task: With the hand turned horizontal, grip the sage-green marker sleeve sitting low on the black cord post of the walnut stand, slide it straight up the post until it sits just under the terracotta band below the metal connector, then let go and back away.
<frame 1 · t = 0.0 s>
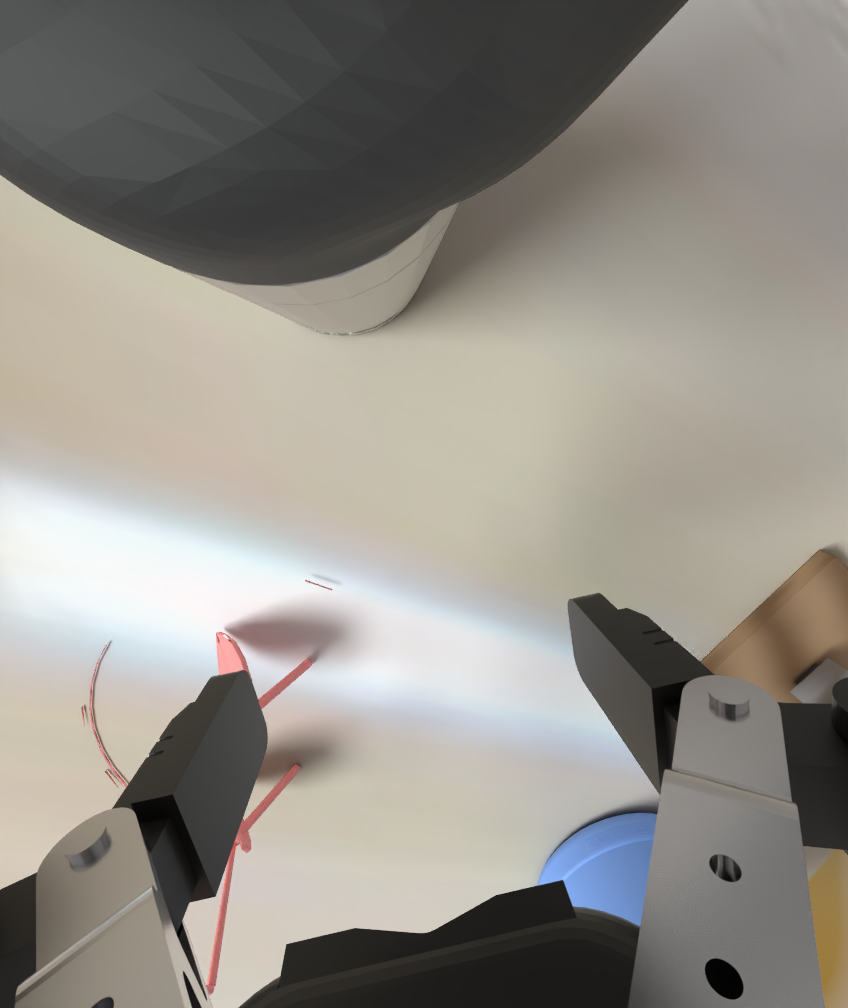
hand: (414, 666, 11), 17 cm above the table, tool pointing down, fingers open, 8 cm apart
cord stand: (798, 668, 35), on the table
figurine: (204, 706, 31), on the table
water jug: (619, 870, 40), on the table
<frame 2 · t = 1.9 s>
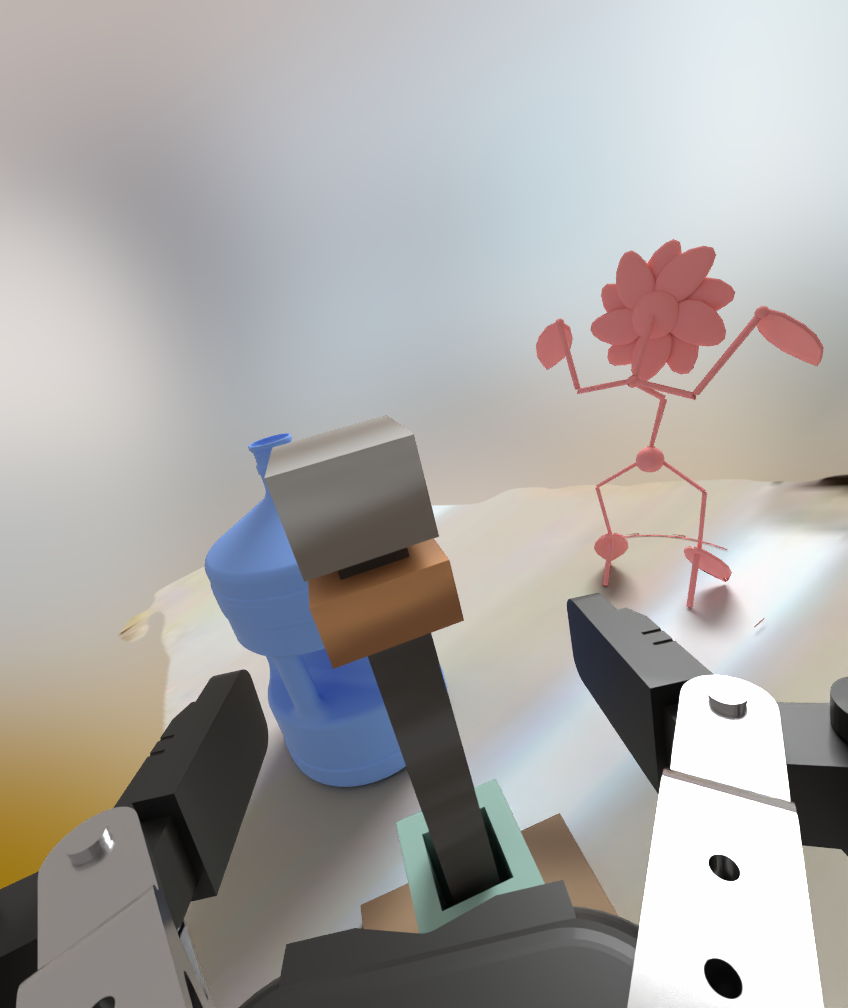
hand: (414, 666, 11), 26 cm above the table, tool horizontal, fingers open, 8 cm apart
sleeve: (482, 909, 20), point 9 cm above the table, slide at 0.0 cm
figurine: (667, 568, 55), on the table
water jug: (371, 716, 44), on the table
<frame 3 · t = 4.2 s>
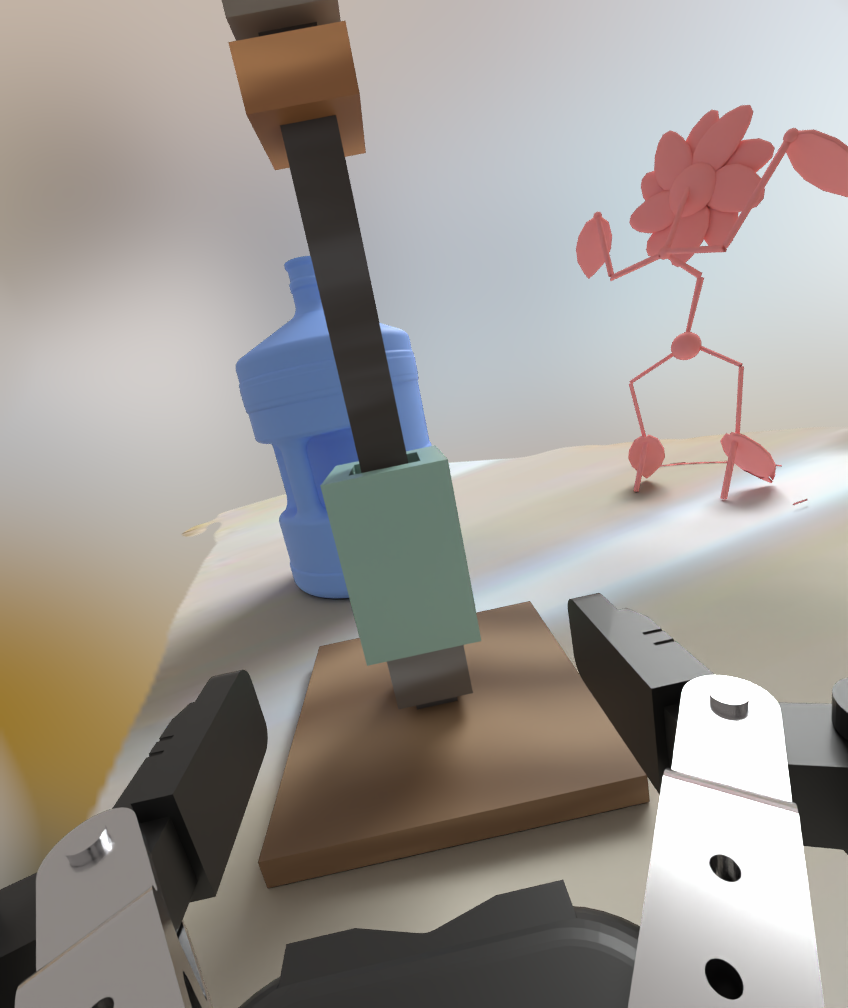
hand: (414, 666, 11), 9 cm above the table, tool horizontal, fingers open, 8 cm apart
cord stand: (439, 712, 23), on the table
sleeve: (403, 547, 21), point 9 cm above the table, slide at 0.0 cm
figurine: (709, 480, 51), on the table
water jug: (375, 566, 45), on the table
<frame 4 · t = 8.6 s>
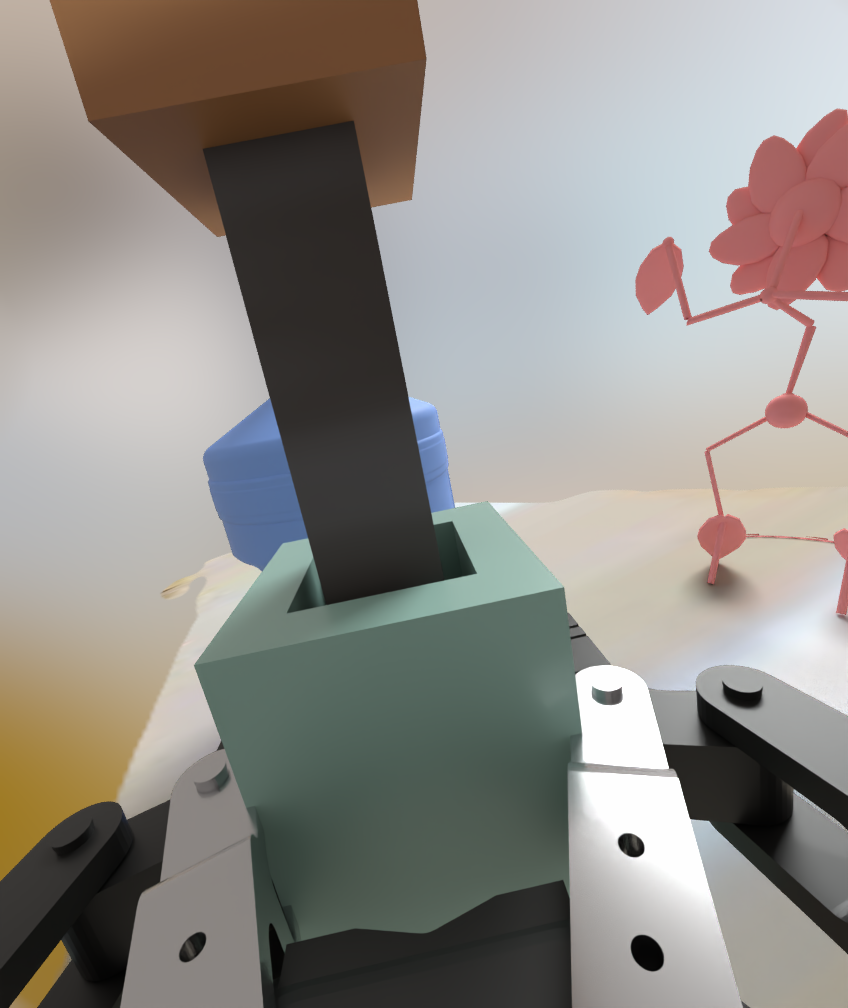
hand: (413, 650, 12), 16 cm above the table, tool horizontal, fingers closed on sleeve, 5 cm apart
sleeve: (424, 736, 9), point 15 cm above the table, slide at 6.1 cm, touching gripper
figurine: (802, 571, 41), on the table
water jug: (389, 693, 35), on the table
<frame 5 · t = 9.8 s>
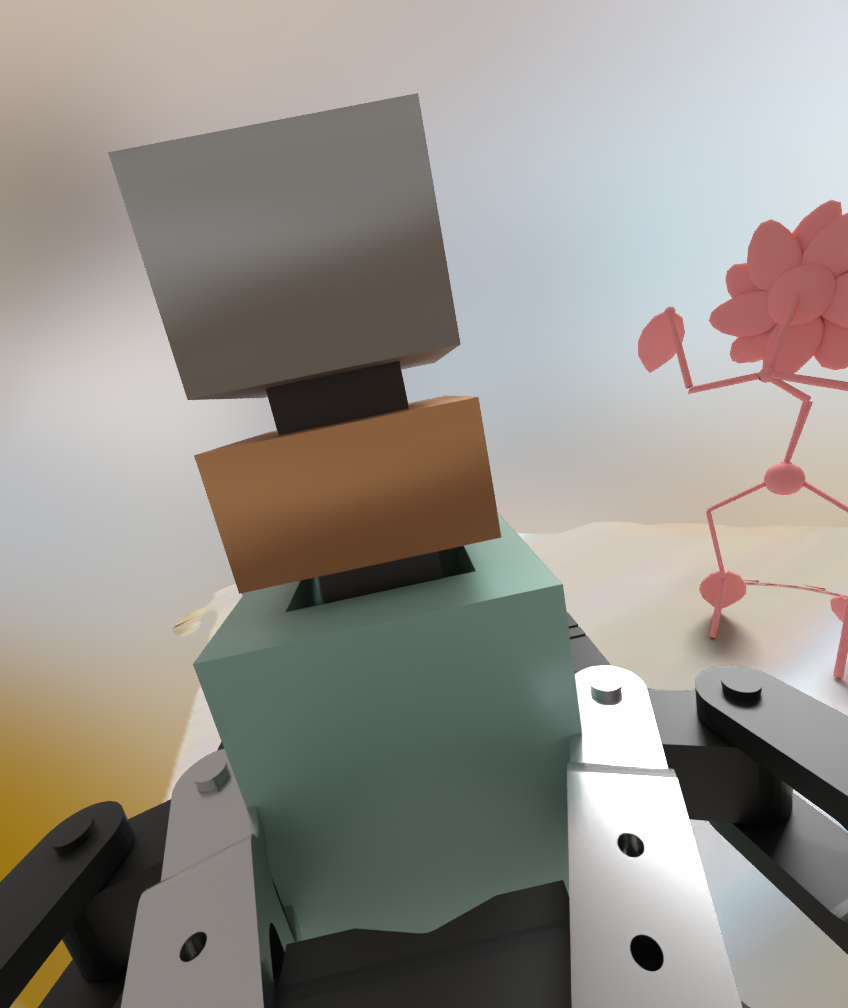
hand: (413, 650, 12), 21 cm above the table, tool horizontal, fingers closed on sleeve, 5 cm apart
sleeve: (424, 735, 9), point 21 cm above the table, slide at 11.9 cm, touching gripper
figurine: (801, 625, 42), on the table
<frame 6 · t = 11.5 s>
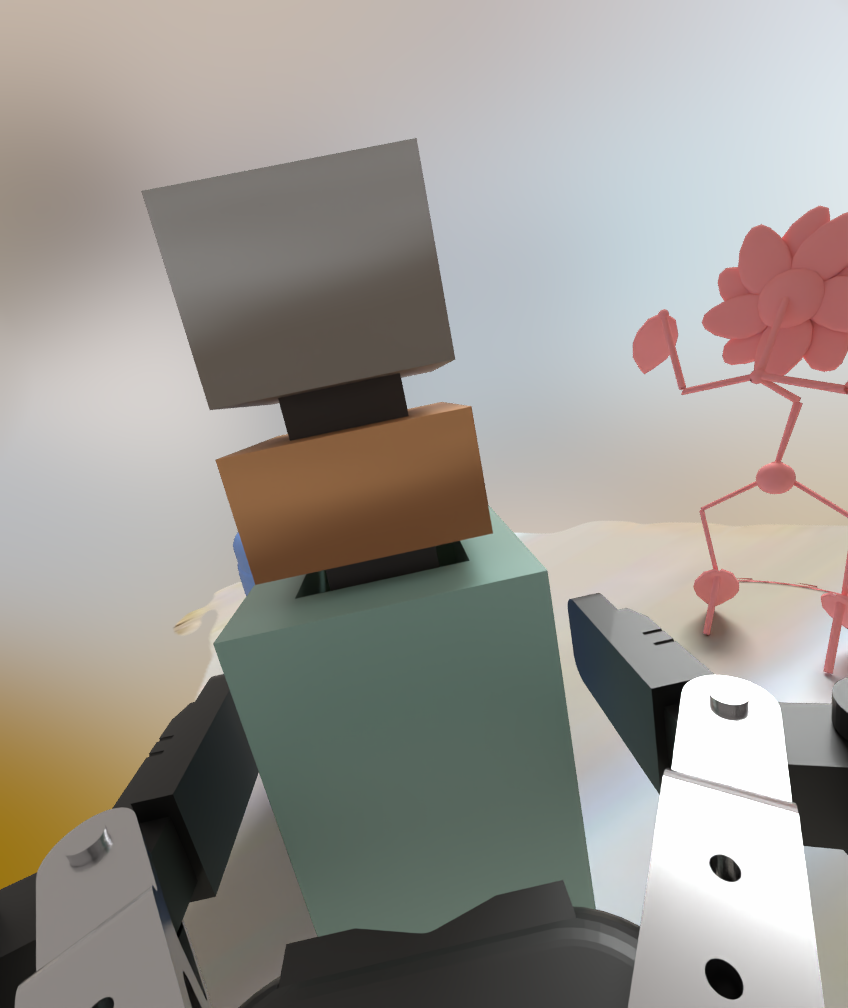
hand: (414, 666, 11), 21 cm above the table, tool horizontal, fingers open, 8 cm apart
sleeve: (423, 716, 10), point 21 cm above the table, slide at 12.0 cm
figurine: (793, 622, 43), on the table
water jug: (404, 749, 38), on the table
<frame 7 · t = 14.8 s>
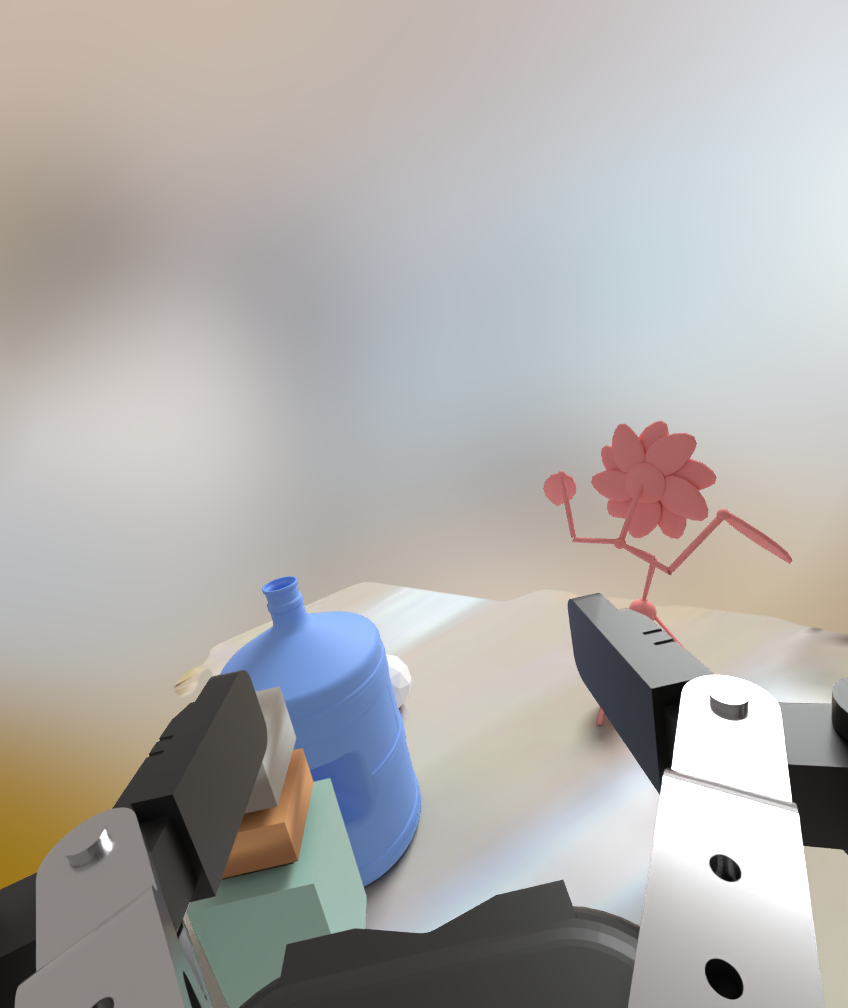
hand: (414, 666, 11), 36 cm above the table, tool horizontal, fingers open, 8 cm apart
sleeve: (291, 903, 21), point 21 cm above the table, slide at 12.0 cm
figurine: (668, 715, 54), on the table
geometric ball: (389, 706, 65), on the table
water jug: (351, 823, 48), on the table
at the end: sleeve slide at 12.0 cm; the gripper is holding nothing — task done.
